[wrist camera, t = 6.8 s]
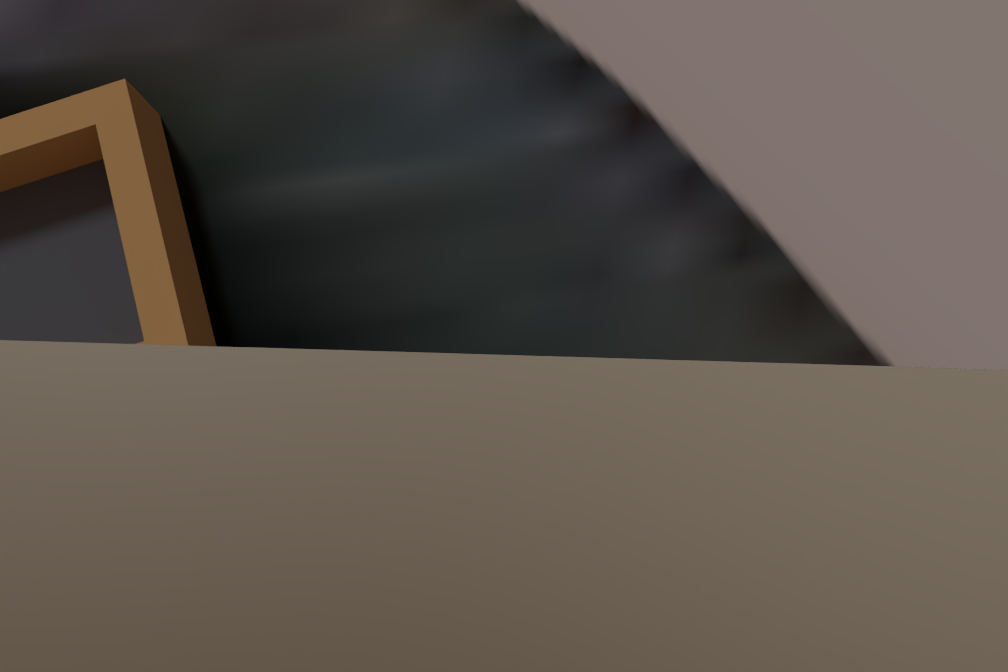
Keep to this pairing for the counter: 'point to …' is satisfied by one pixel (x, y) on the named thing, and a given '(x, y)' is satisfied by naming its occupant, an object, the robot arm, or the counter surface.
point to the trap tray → (95, 227)
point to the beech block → (496, 513)
